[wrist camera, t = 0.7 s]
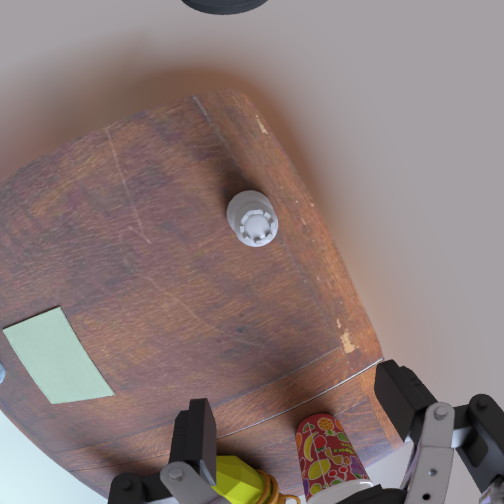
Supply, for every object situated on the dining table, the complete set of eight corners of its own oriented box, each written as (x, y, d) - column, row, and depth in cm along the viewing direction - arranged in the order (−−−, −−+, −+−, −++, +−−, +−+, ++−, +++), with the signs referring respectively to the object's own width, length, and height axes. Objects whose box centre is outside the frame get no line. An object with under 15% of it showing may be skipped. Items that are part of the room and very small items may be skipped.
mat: (3, 329, 30) (2, 329, 29) (60, 306, 29) (59, 306, 29) (52, 403, 33) (51, 403, 33) (115, 394, 33) (115, 394, 33)
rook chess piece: (281, 215, 29) (301, 230, 21) (246, 244, 29) (253, 270, 22) (252, 180, 28) (261, 182, 20) (216, 210, 28) (212, 224, 20)
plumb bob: (166, 451, 37) (270, 507, 40) (162, 487, 28) (281, 537, 31) (203, 422, 38) (305, 483, 41) (205, 458, 29) (320, 513, 32)
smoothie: (352, 419, 38) (399, 522, 18) (309, 447, 39) (339, 549, 19) (323, 398, 36) (372, 519, 16) (276, 429, 37) (301, 548, 17)
